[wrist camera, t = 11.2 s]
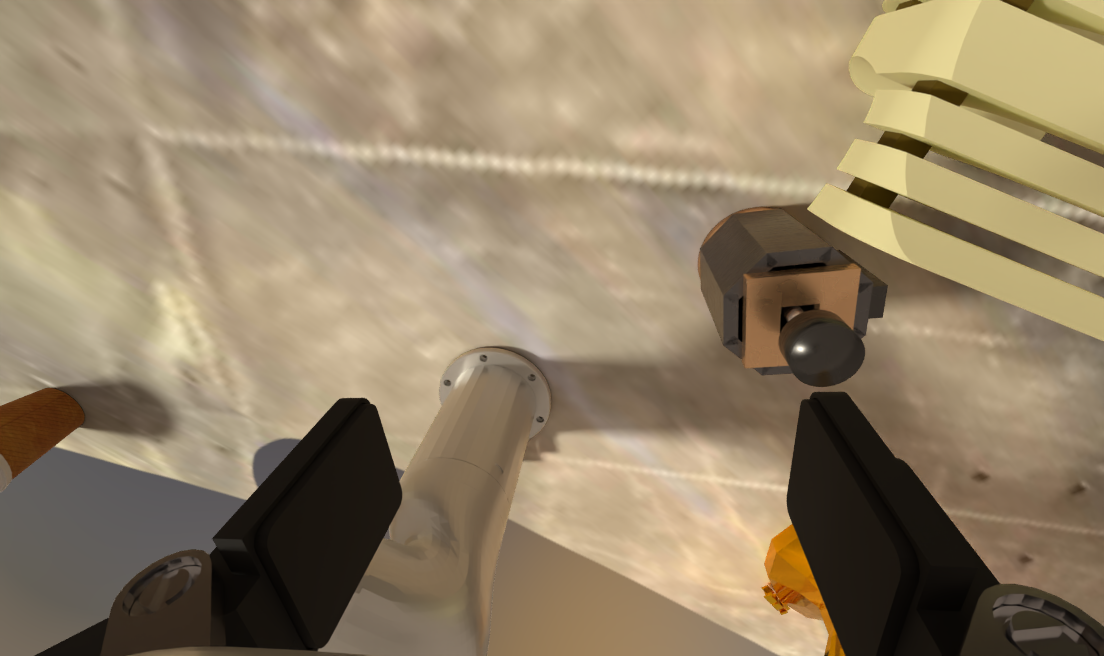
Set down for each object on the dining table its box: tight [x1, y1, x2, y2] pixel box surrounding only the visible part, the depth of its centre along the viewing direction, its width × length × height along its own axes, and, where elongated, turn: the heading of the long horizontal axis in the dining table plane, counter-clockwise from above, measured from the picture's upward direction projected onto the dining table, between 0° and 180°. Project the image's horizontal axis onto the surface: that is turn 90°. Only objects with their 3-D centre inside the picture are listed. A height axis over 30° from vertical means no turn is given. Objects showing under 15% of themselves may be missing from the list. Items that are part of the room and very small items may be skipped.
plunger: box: [738, 264, 865, 387], centre depth 35 cm, size 6×6×15 cm
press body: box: [698, 207, 888, 375], centre depth 38 cm, size 10×11×13 cm
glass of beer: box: [0, 388, 85, 492], centre depth 59 cm, size 10×10×12 cm
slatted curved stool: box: [807, 0, 1104, 341], centre depth 26 cm, size 30×16×18 cm, turn 160°
